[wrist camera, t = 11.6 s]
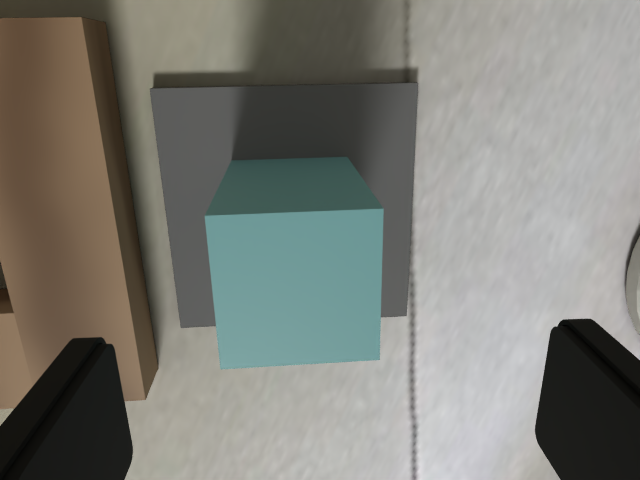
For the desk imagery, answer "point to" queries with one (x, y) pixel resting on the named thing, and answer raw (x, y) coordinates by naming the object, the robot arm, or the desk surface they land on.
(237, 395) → the desk surface
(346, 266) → the block
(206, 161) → the mat
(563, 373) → the robot arm
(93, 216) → the pocket plate
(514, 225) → the desk surface
